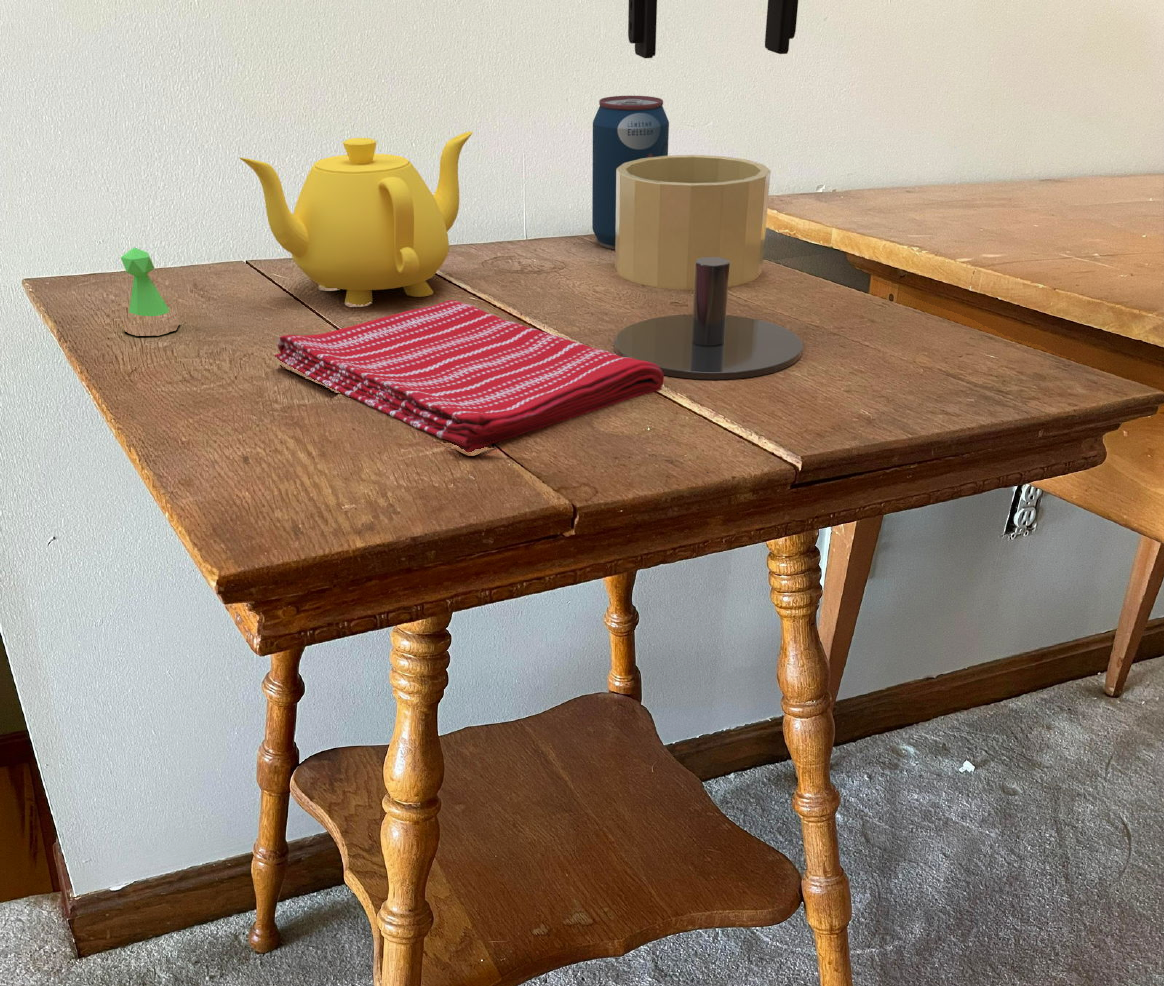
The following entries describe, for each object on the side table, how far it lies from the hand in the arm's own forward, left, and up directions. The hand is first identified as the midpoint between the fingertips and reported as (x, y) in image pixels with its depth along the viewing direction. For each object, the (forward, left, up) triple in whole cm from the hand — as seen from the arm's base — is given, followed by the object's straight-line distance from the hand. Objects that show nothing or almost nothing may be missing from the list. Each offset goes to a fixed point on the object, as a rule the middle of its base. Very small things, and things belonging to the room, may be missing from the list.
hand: (711, 53), depth 84 cm
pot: (+3, -12, -18) cm, 22 cm away
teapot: (+27, 0, -18) cm, 33 cm away
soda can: (+11, -22, -18) cm, 30 cm away
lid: (-3, +9, -17) cm, 20 cm away
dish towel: (+12, +19, -18) cm, 29 cm away
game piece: (+40, +14, -18) cm, 46 cm away
